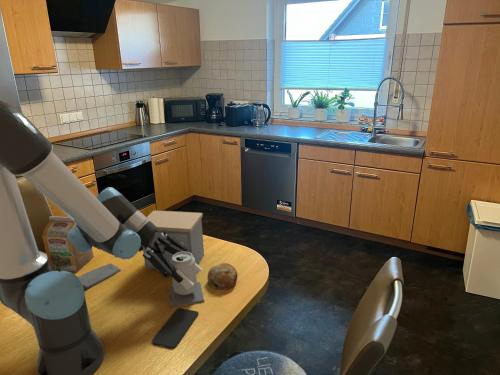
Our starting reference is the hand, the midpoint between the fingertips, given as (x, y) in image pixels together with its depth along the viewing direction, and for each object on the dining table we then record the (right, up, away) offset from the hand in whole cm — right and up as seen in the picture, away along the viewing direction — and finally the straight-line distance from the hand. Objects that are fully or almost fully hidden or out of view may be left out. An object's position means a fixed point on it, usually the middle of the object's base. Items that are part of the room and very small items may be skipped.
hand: (195, 279), depth 115 cm
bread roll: (+8, -3, +10) cm, 13 cm away
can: (-3, -4, +2) cm, 6 cm away
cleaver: (-40, -5, +9) cm, 42 cm away
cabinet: (-10, +1, +22) cm, 24 cm away
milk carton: (-48, 0, +23) cm, 53 cm away
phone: (-4, -11, -11) cm, 16 cm away
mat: (-3, -6, +3) cm, 7 cm away
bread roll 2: (-28, +4, +34) cm, 45 cm away
